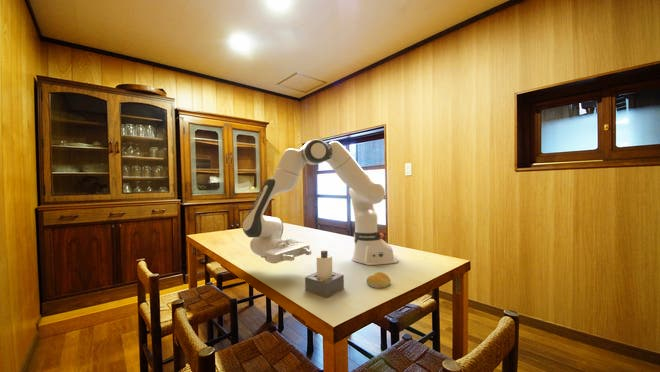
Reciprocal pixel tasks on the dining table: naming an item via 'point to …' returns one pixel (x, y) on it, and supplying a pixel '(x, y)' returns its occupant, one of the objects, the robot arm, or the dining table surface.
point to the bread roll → (378, 280)
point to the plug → (324, 266)
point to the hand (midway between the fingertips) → (301, 255)
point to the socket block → (324, 284)
